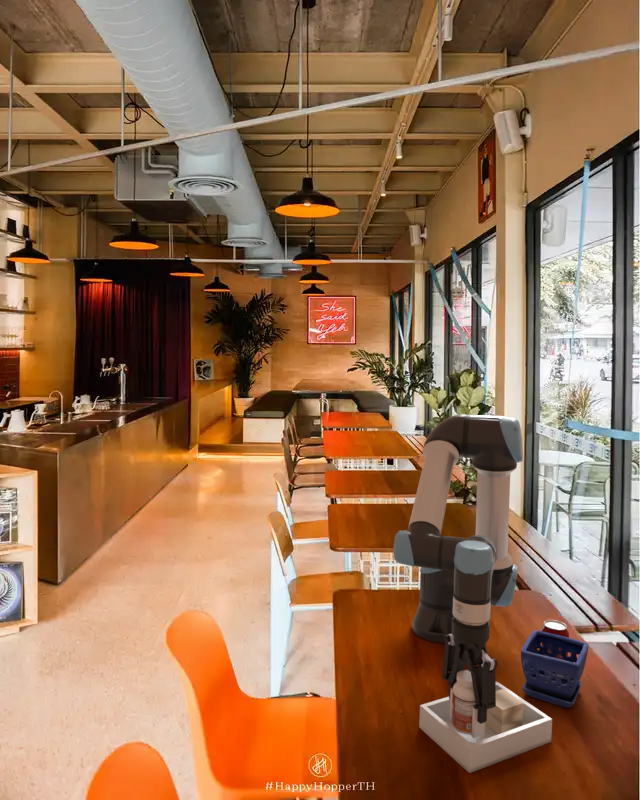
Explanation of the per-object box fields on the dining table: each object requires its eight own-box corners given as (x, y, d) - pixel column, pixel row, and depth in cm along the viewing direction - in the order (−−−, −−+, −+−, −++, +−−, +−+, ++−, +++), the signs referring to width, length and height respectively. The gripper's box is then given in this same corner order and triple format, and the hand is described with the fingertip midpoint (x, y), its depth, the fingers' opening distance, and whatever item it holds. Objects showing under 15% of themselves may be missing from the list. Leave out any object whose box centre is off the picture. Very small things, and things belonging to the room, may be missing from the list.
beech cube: (501, 714, 136) (502, 688, 136) (522, 729, 131) (523, 702, 131) (481, 721, 134) (482, 695, 133) (501, 737, 128) (502, 710, 128)
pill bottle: (460, 714, 132) (461, 664, 131) (487, 726, 128) (489, 674, 127) (445, 727, 127) (447, 676, 126) (473, 740, 123) (475, 686, 122)
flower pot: (577, 716, 137) (580, 665, 136) (517, 698, 144) (519, 649, 143) (587, 689, 149) (589, 642, 148) (530, 673, 156) (532, 628, 155)
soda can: (569, 678, 154) (571, 631, 153) (541, 674, 155) (543, 628, 154) (564, 664, 160) (566, 620, 159) (537, 661, 162) (539, 617, 161)
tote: (419, 727, 132) (420, 705, 132) (496, 702, 142) (497, 681, 142) (469, 773, 118) (470, 748, 118) (551, 741, 128) (552, 719, 128)
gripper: (427, 603, 133) (423, 706, 134) (490, 641, 116) (484, 758, 117) (454, 598, 136) (450, 698, 138) (519, 634, 119) (513, 747, 121)
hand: (466, 725), depth 127 cm, fingers closed on pill bottle, 6 cm apart
